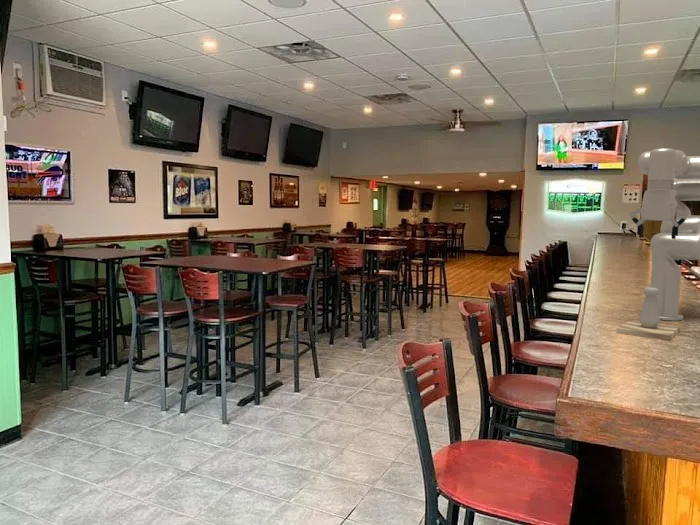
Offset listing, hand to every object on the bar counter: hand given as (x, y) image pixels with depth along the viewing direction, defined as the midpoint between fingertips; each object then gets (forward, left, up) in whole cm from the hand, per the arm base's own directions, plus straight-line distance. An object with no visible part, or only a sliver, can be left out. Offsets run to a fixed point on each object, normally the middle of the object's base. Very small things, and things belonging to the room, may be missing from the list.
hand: (656, 238), depth 176 cm
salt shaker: (+9, +1, -29) cm, 30 cm away
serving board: (+9, +1, -30) cm, 32 cm away
